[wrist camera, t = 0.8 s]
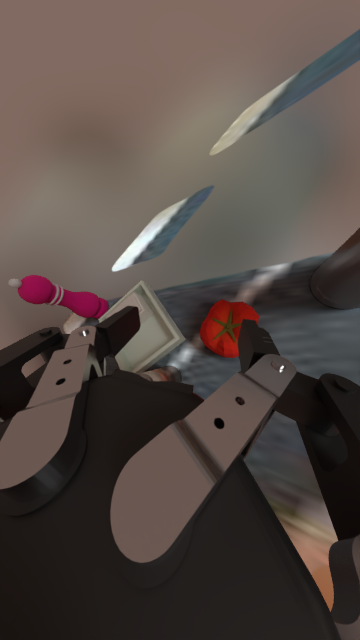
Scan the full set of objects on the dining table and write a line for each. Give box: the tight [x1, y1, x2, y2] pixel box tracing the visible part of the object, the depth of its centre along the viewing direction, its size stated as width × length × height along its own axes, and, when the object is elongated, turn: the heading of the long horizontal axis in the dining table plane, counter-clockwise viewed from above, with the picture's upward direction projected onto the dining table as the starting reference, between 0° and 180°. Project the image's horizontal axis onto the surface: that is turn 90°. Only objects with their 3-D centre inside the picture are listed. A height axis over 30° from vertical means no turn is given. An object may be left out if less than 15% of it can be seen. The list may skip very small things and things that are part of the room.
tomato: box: [200, 299, 259, 358], centre depth 28 cm, size 10×11×6 cm
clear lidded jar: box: [138, 366, 182, 383], centre depth 28 cm, size 6×6×12 cm
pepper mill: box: [8, 275, 108, 319], centre depth 36 cm, size 7×7×20 cm
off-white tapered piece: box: [105, 292, 154, 325], centre depth 37 cm, size 10×6×5 cm, turn 125°
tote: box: [98, 280, 186, 374], centre depth 37 cm, size 16×18×4 cm
